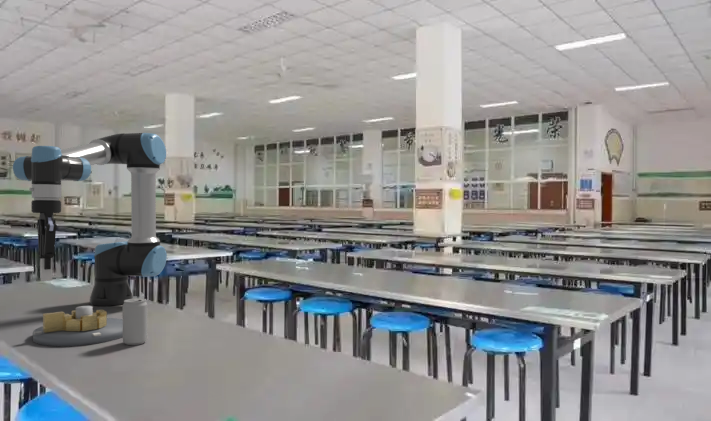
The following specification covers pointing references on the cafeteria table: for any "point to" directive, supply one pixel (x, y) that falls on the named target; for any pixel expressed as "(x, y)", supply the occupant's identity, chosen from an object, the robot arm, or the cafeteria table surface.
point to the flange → (81, 332)
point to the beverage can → (134, 321)
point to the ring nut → (73, 321)
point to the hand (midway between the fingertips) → (46, 280)
